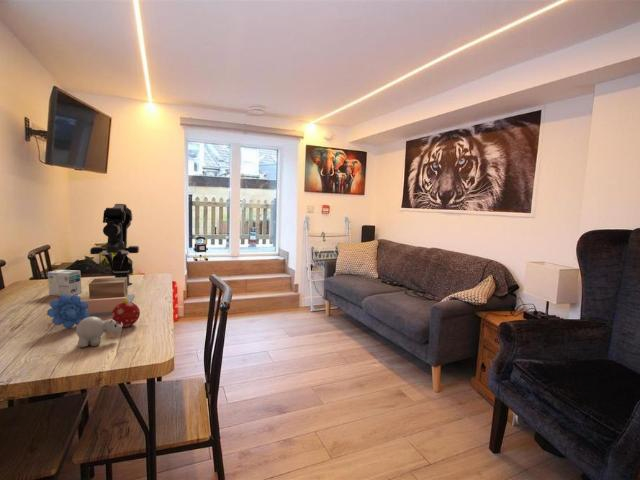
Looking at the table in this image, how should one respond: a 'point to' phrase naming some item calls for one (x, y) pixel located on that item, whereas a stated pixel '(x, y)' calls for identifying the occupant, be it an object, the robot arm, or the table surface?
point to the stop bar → (103, 304)
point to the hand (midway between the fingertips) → (116, 268)
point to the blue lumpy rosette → (68, 310)
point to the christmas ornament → (126, 313)
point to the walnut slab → (108, 288)
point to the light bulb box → (64, 282)
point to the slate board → (130, 299)
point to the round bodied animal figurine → (95, 330)
